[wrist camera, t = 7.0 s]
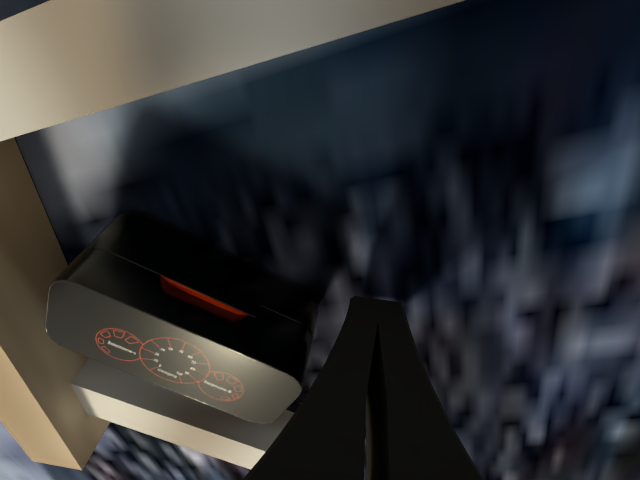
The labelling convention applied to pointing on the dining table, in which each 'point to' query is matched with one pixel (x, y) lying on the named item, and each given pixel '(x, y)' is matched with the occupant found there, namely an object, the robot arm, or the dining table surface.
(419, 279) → the dining table surface
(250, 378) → the instrument cluster
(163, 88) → the wooden bars
